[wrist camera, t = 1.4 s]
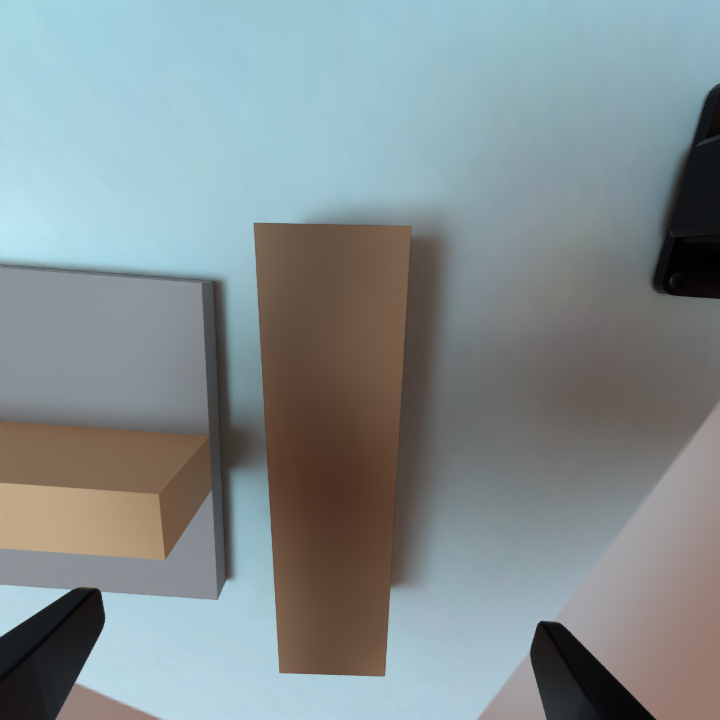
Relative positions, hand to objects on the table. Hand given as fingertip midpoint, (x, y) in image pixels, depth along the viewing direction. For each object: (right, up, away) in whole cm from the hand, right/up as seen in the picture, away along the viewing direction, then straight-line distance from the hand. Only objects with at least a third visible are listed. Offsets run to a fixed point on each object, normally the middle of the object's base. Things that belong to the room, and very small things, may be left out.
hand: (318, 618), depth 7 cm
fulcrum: (-10, +2, +8) cm, 13 cm away
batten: (0, +2, +8) cm, 8 cm away
